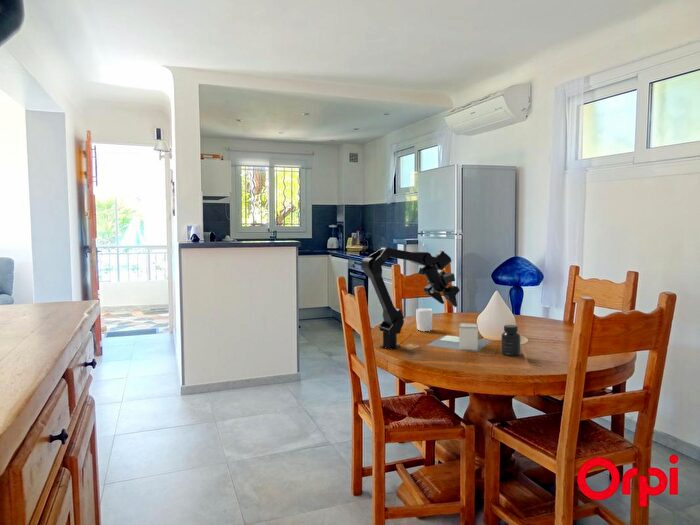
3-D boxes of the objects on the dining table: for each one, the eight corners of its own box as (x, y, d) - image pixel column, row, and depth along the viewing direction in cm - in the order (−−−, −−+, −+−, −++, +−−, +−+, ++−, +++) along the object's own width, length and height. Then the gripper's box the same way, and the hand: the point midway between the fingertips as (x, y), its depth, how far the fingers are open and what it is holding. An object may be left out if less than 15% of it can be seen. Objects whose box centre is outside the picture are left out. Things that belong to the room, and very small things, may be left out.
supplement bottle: (505, 353, 187) (505, 323, 186) (523, 356, 182) (523, 325, 181) (498, 357, 181) (498, 326, 180) (516, 360, 177) (516, 328, 176)
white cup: (413, 331, 228) (413, 310, 227) (419, 328, 235) (419, 307, 234) (429, 332, 224) (429, 311, 224) (434, 329, 231) (434, 308, 231)
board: (476, 354, 186) (476, 342, 185) (426, 348, 197) (426, 336, 197) (491, 343, 203) (491, 332, 202) (444, 338, 214) (444, 327, 213)
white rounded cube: (477, 350, 188) (477, 327, 188) (459, 349, 190) (459, 326, 189) (477, 345, 195) (477, 323, 194) (459, 344, 197) (459, 323, 196)
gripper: (459, 267, 202) (475, 296, 207) (433, 264, 219) (448, 291, 223) (441, 283, 198) (458, 312, 203) (416, 279, 215) (432, 306, 220)
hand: (449, 305), depth 212 cm, fingers open, 9 cm apart
